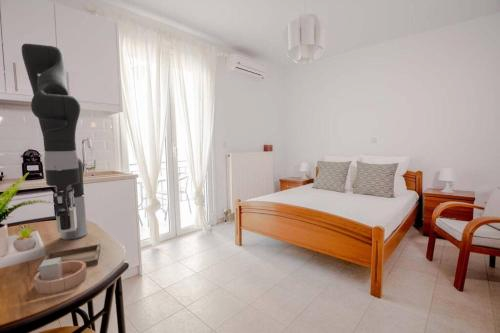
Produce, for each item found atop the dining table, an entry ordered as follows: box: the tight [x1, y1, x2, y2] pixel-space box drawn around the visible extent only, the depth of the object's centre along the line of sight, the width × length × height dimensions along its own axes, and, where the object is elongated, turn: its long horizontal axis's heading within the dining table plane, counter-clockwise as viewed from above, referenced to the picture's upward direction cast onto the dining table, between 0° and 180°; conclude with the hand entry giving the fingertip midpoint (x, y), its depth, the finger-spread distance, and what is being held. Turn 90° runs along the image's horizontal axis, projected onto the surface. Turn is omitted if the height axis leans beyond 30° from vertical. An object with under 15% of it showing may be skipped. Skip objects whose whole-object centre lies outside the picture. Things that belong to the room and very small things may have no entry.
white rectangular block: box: [55, 207, 77, 234], centre depth 71 cm, size 4×4×6 cm
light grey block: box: [39, 257, 63, 281], centre depth 70 cm, size 4×4×6 cm
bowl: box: [33, 260, 88, 294], centre depth 71 cm, size 12×12×4 cm
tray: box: [35, 243, 101, 275], centre depth 83 cm, size 14×16×2 cm
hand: (67, 226), depth 71 cm, fingers closed on white rectangular block, 4 cm apart
